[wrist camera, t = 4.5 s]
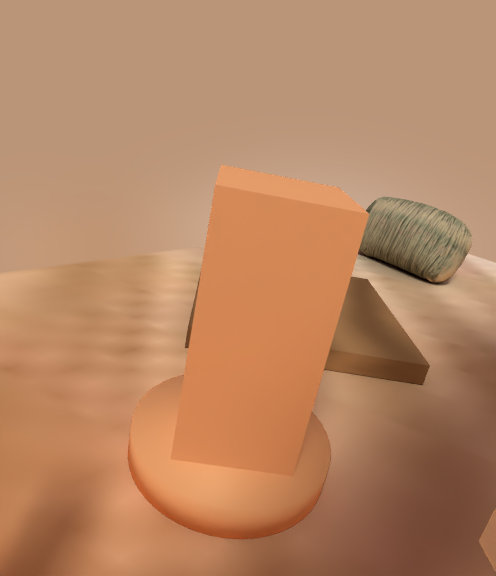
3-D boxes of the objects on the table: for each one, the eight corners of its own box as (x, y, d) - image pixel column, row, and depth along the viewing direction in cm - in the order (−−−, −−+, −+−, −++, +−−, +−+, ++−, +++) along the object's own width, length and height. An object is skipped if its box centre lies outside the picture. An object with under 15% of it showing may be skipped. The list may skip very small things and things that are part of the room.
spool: (330, 223, 58) (387, 161, 56) (360, 252, 65) (412, 197, 63) (406, 290, 49) (477, 220, 47) (431, 314, 56) (493, 254, 54)
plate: (363, 293, 46) (367, 279, 45) (422, 384, 31) (429, 365, 30) (203, 265, 44) (205, 250, 44) (184, 347, 30) (188, 326, 29)
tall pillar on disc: (308, 408, 26) (371, 188, 21) (340, 552, 18) (455, 242, 13) (148, 383, 25) (178, 150, 21) (102, 522, 17) (137, 182, 12)
